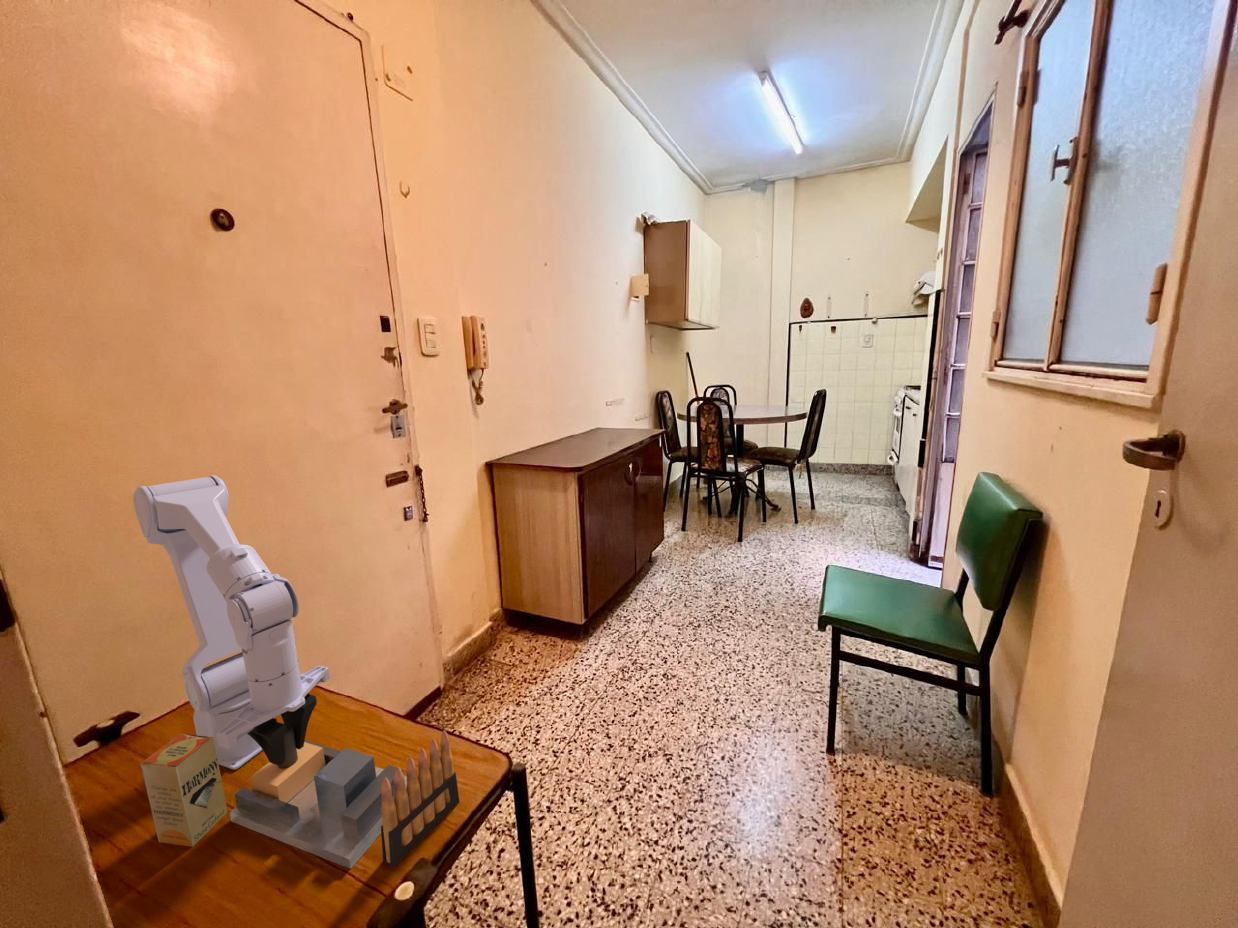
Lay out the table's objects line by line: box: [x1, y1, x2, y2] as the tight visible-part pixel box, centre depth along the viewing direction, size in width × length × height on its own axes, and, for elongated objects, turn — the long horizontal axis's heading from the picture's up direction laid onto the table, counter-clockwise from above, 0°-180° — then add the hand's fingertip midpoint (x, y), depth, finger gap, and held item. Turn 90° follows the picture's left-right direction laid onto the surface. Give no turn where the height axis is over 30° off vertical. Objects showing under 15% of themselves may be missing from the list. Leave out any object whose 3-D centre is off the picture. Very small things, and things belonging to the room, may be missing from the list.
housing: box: [314, 747, 376, 822], centre depth 66 cm, size 6×5×6 cm
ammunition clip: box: [380, 729, 460, 868], centre depth 63 cm, size 11×2×12 cm, turn 150°
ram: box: [249, 725, 325, 803], centre depth 68 cm, size 5×7×8 cm
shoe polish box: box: [139, 733, 229, 848], centre depth 63 cm, size 5×5×12 cm
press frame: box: [229, 739, 407, 870], centre depth 67 cm, size 20×12×5 cm, turn 72°
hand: (286, 754), depth 68 cm, fingers closed on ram, 2 cm apart
